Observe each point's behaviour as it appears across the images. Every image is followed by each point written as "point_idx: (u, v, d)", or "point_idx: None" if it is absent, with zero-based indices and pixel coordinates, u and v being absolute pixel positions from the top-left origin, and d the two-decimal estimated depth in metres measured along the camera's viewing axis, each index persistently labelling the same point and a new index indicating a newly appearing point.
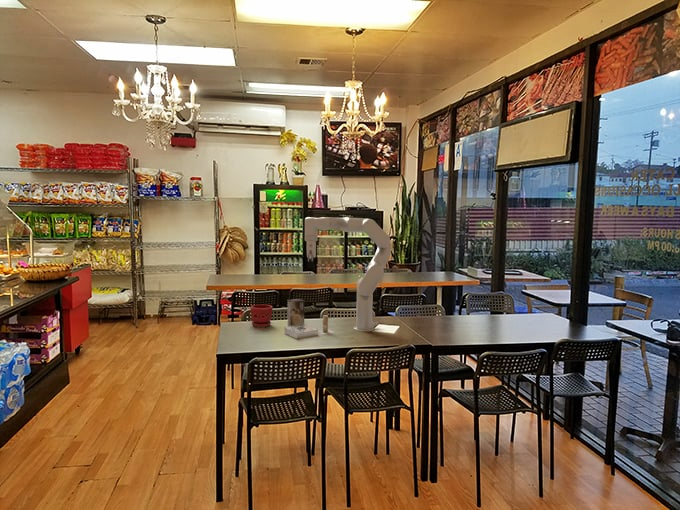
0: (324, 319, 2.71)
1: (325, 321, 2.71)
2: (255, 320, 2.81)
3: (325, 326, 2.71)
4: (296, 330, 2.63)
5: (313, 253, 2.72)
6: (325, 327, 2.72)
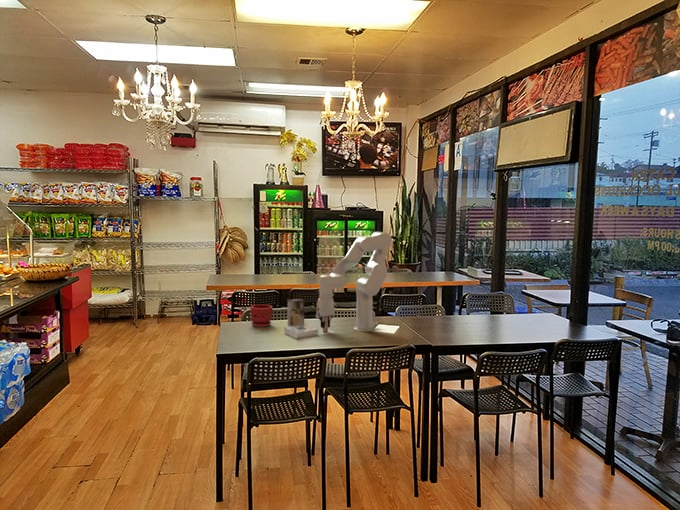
0: (324, 319, 2.71)
1: (325, 321, 2.71)
2: (255, 320, 2.81)
3: (325, 326, 2.71)
4: (296, 330, 2.63)
5: None
6: (325, 327, 2.72)
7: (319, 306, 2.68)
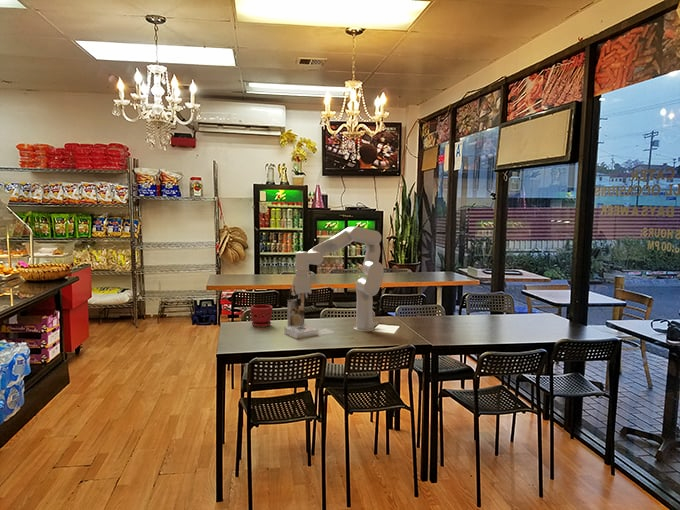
0: (300, 296, 2.65)
1: (301, 298, 2.65)
2: (255, 320, 2.81)
3: (301, 304, 2.65)
4: (296, 330, 2.63)
5: None
6: (301, 305, 2.65)
7: (295, 283, 2.62)
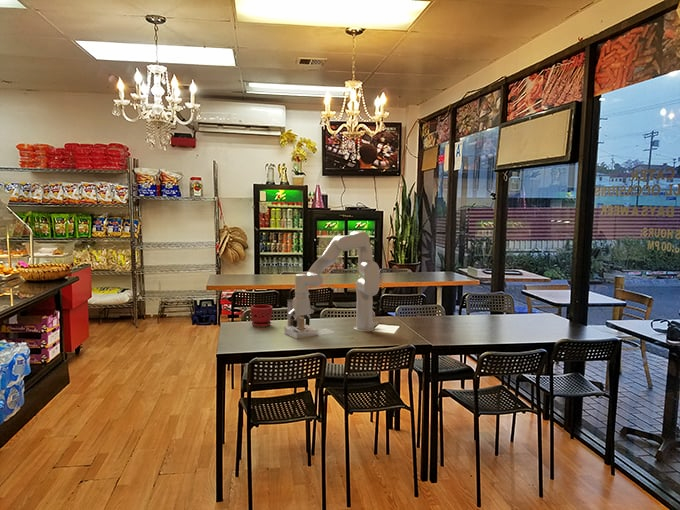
0: (300, 321, 2.66)
1: (301, 323, 2.66)
2: (255, 320, 2.81)
3: (301, 328, 2.67)
4: (296, 330, 2.63)
5: None
6: (301, 329, 2.67)
7: (294, 305, 2.63)
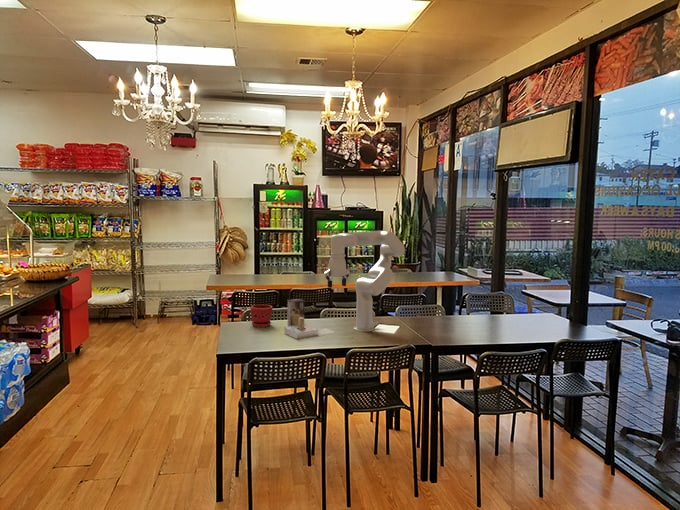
0: (300, 321, 2.66)
1: (301, 323, 2.66)
2: (255, 320, 2.81)
3: (301, 328, 2.67)
4: (296, 330, 2.63)
5: None
6: (301, 329, 2.67)
7: (331, 266, 2.60)
